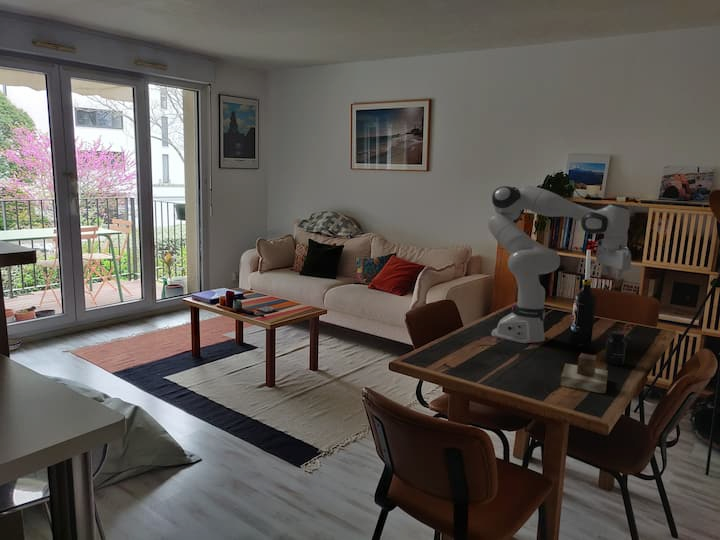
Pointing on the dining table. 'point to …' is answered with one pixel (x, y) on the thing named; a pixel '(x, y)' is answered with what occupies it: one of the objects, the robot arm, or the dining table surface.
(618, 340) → the supplement bottle
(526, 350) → the dining table surface
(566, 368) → the ash platform
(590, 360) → the walnut block
